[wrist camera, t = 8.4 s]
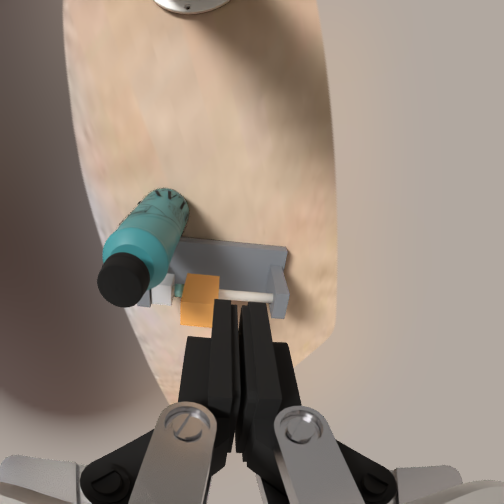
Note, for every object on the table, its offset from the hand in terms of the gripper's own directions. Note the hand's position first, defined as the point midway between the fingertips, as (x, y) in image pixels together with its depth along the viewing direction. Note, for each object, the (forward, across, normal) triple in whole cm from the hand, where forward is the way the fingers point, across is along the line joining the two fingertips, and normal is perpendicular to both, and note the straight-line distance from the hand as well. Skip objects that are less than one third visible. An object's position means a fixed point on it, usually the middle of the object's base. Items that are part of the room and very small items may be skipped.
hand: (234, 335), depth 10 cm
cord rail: (+31, +1, +14) cm, 34 cm away
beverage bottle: (+31, +8, +6) cm, 33 cm away
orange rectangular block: (+26, +2, +14) cm, 29 cm away
